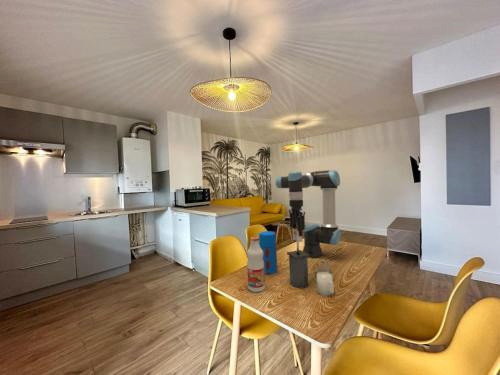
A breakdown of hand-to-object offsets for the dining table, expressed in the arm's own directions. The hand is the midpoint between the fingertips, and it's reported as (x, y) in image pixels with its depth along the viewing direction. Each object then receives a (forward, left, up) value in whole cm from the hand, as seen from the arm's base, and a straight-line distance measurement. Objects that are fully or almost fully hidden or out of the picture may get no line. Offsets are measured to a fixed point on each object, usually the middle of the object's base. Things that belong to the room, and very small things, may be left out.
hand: (297, 240), depth 117 cm
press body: (0, -1, -24) cm, 24 cm away
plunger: (0, 0, -11) cm, 11 cm away
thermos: (+9, -22, -25) cm, 34 cm away
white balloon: (-7, +14, -24) cm, 29 cm away
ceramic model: (-17, 0, -25) cm, 30 cm away
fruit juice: (+24, -5, -25) cm, 35 cm away
